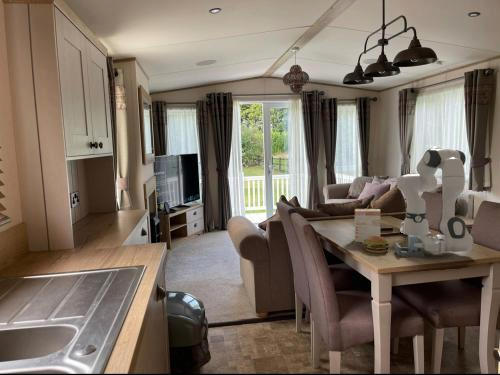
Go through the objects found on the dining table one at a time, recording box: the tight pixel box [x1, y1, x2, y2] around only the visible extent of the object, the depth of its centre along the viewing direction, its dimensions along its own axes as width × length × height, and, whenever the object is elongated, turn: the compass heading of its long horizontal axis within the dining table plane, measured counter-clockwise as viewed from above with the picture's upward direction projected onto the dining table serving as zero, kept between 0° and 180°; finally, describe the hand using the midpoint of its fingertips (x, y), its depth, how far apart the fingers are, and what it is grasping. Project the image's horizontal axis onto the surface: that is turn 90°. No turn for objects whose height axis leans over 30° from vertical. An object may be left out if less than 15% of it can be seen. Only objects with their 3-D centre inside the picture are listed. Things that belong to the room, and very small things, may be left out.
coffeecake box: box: [354, 208, 382, 243], centre depth 237 cm, size 15×7×20 cm, turn 74°
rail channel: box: [394, 242, 425, 258], centre depth 208 cm, size 9×13×5 cm
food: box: [361, 235, 390, 254], centre depth 217 cm, size 14×14×8 cm
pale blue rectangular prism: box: [407, 235, 419, 252], centre depth 208 cm, size 4×4×10 cm
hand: (411, 242), depth 208 cm, fingers open, 8 cm apart
